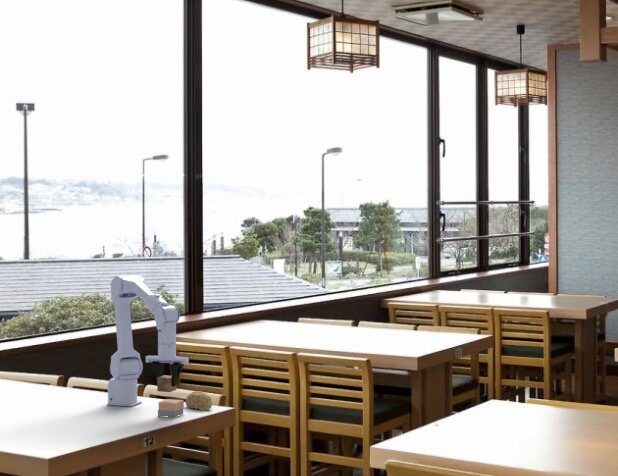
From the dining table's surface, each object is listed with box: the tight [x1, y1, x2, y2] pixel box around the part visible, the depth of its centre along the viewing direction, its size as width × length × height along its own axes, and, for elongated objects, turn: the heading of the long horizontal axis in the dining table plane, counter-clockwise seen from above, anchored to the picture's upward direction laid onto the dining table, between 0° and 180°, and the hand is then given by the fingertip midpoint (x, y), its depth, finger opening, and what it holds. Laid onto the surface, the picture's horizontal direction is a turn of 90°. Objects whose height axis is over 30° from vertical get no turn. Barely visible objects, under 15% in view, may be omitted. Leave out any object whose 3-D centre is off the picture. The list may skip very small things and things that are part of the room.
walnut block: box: [156, 374, 178, 393], centre depth 306 cm, size 4×4×4 cm
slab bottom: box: [157, 408, 184, 418], centre depth 306 cm, size 6×6×2 cm
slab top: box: [158, 398, 185, 411], centre depth 306 cm, size 6×6×2 cm
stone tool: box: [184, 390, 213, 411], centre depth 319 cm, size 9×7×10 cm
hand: (167, 385), depth 306 cm, fingers closed on walnut block, 4 cm apart
